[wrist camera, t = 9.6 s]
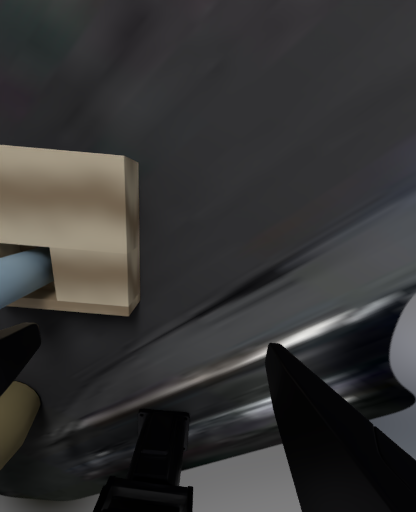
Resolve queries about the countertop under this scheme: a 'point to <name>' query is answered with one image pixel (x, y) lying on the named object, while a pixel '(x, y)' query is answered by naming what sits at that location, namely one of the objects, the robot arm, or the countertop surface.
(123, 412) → the countertop surface
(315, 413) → the robot arm
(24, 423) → the squeeze bottle
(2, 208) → the board
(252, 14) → the countertop surface
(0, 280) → the peg
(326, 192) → the countertop surface
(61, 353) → the countertop surface
